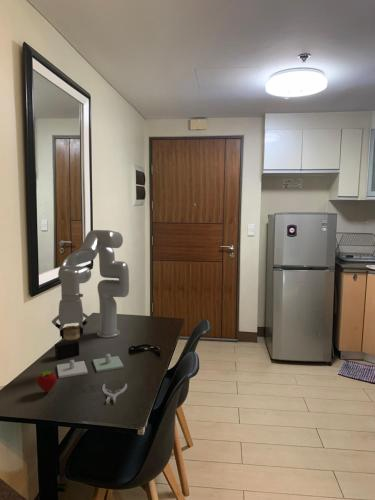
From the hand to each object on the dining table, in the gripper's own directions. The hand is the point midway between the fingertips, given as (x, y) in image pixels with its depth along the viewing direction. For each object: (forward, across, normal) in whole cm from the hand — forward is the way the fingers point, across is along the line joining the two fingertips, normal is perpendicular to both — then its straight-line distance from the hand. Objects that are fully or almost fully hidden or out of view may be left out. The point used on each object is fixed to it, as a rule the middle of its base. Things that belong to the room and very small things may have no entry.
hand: (71, 336), depth 164 cm
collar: (0, 0, 0) cm, 0 cm away
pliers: (+16, -13, +27) cm, 34 cm away
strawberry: (+16, +11, +17) cm, 26 cm away
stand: (+16, 0, 0) cm, 16 cm away
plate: (+16, -16, 0) cm, 22 cm away
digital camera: (+16, +1, -17) cm, 23 cm away
